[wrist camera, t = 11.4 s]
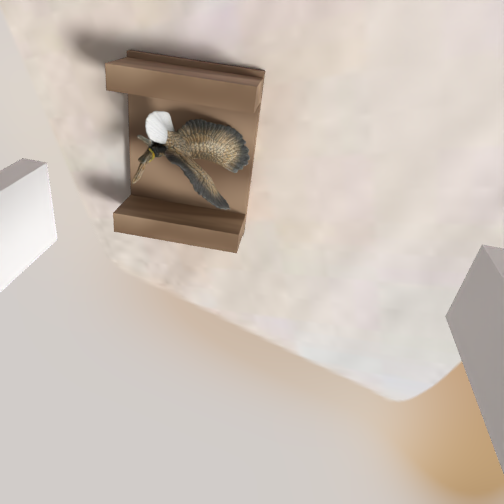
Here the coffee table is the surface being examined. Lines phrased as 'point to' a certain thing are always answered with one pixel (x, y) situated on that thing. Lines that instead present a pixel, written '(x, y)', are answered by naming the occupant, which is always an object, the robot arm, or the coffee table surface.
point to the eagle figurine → (194, 151)
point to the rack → (172, 177)
